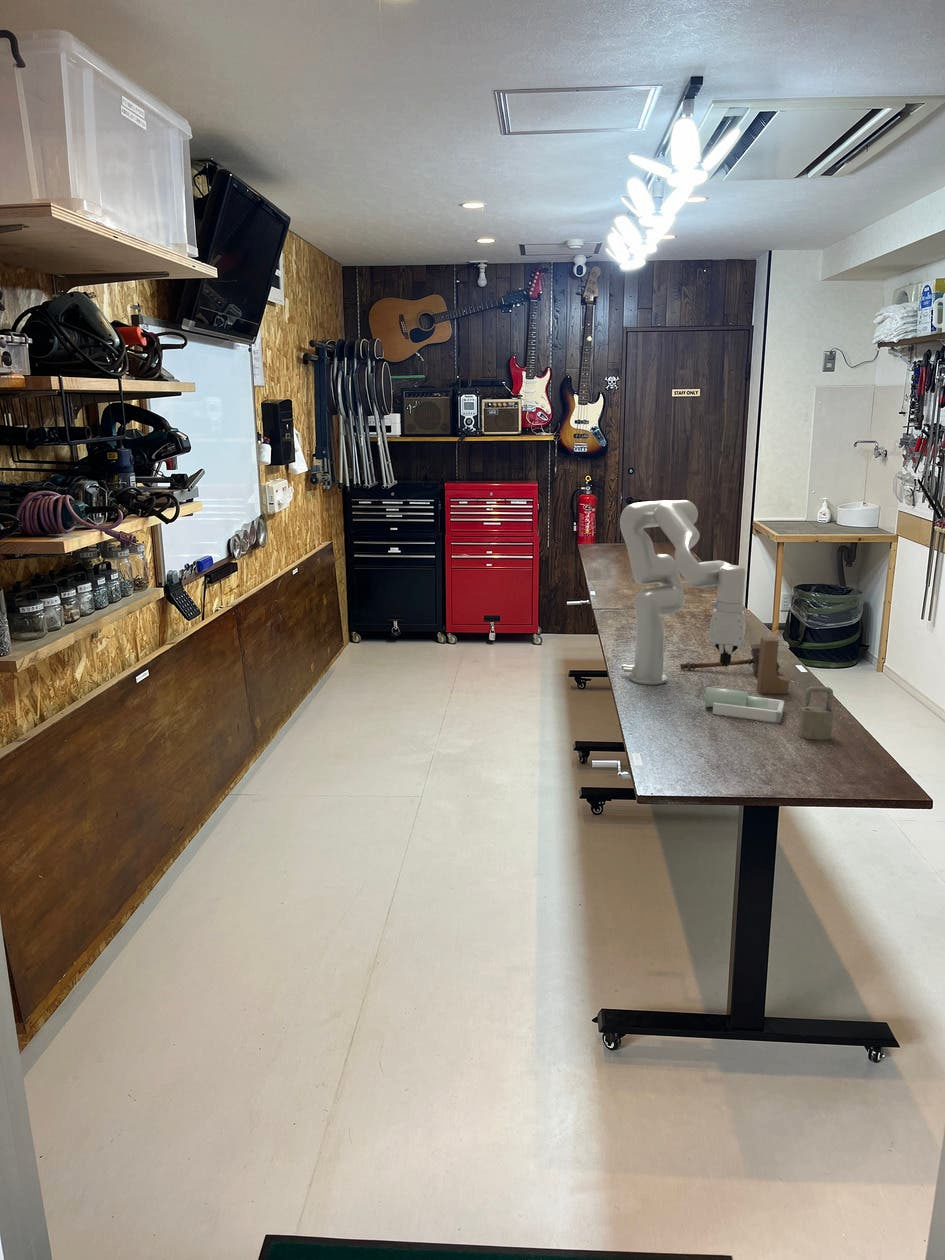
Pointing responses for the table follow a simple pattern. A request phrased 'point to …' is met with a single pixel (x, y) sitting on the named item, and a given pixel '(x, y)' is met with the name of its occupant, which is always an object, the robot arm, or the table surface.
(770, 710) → the u rest
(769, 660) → the wooden block
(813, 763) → the table surface
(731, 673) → the table surface
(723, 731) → the table surface
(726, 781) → the table surface
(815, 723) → the padlock
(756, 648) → the hammer
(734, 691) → the bottle
